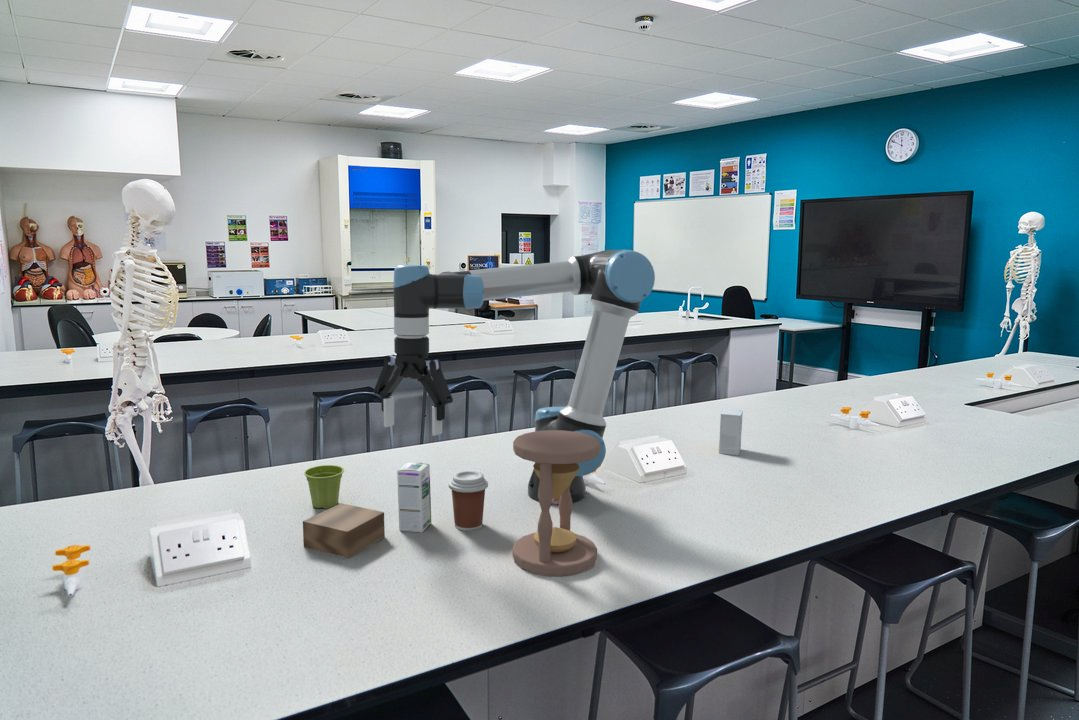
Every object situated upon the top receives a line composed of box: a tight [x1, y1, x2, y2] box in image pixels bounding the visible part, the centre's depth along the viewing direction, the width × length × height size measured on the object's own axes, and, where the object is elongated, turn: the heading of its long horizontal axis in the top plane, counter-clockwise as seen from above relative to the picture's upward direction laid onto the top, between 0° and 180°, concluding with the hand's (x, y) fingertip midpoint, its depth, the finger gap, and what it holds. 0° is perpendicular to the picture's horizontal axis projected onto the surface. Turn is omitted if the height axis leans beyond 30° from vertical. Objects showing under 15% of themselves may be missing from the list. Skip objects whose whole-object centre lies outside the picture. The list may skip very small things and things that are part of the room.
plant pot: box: [303, 464, 345, 509], centre depth 172 cm, size 9×9×9 cm
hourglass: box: [511, 430, 600, 577], centre depth 142 cm, size 18×18×25 cm
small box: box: [718, 408, 744, 456], centre depth 222 cm, size 8×6×13 cm
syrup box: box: [396, 462, 432, 533], centre depth 158 cm, size 6×6×14 cm
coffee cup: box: [448, 470, 489, 532], centre depth 160 cm, size 9×9×12 cm
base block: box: [302, 502, 386, 559], centre depth 150 cm, size 12×12×6 cm
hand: (412, 430), depth 156 cm, fingers open, 13 cm apart
